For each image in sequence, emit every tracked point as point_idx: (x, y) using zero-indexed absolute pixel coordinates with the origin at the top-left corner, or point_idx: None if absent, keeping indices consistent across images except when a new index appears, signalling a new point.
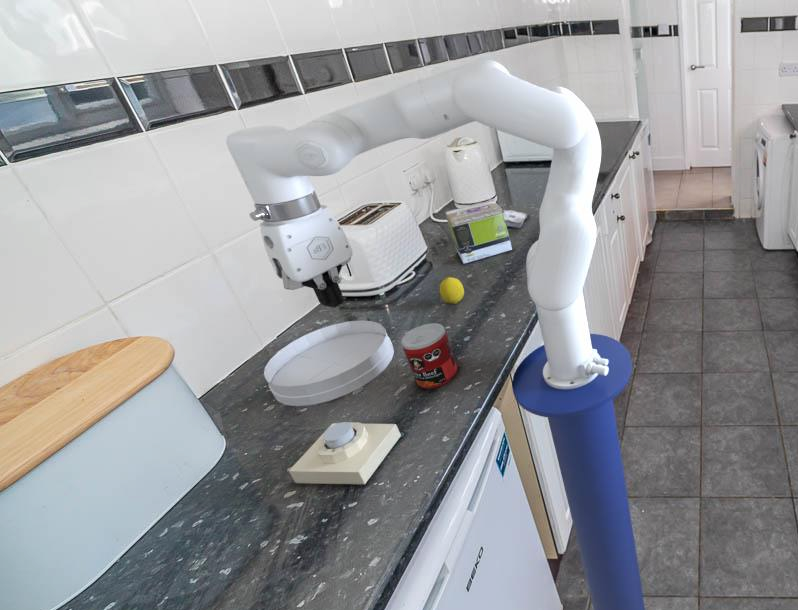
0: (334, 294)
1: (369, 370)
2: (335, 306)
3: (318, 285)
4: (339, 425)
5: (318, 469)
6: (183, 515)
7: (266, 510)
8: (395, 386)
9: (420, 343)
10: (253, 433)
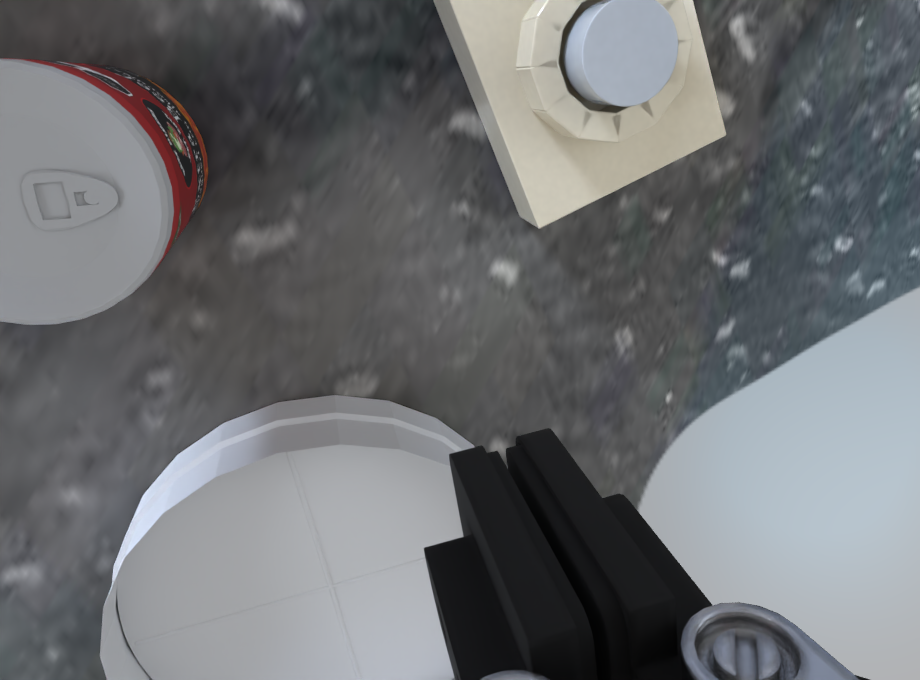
0: (555, 524)
1: (287, 423)
2: (550, 429)
3: (833, 668)
4: (606, 78)
5: (694, 34)
6: (836, 304)
7: (777, 107)
8: (264, 278)
9: (84, 139)
10: (616, 466)
